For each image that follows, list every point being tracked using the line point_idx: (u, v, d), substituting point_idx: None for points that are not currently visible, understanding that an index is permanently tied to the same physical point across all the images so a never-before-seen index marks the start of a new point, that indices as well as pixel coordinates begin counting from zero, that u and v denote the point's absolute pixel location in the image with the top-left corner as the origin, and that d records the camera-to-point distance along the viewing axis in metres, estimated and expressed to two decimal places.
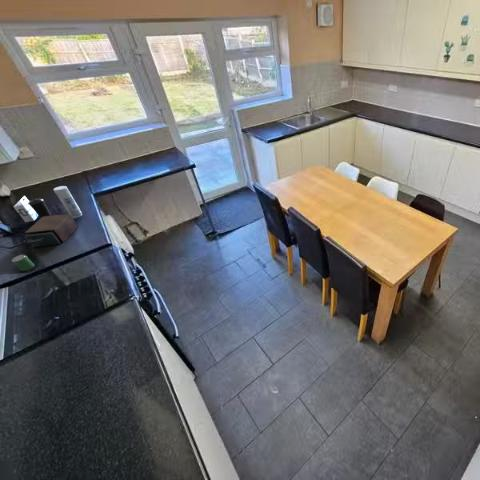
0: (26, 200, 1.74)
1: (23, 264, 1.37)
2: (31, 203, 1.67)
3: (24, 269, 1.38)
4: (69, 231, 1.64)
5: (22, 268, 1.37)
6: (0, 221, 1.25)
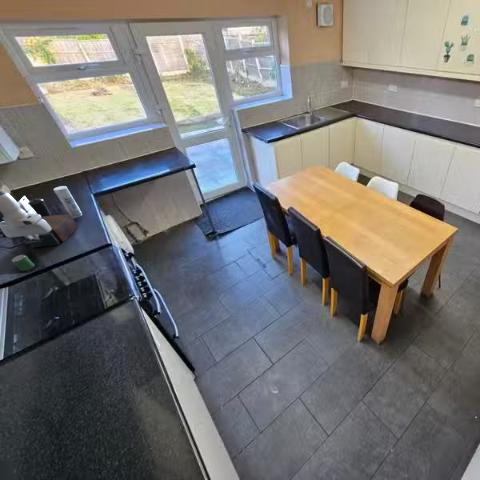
0: (26, 200, 1.74)
1: (23, 264, 1.37)
2: (31, 203, 1.67)
3: (24, 269, 1.38)
4: (69, 231, 1.64)
5: (22, 268, 1.37)
6: None
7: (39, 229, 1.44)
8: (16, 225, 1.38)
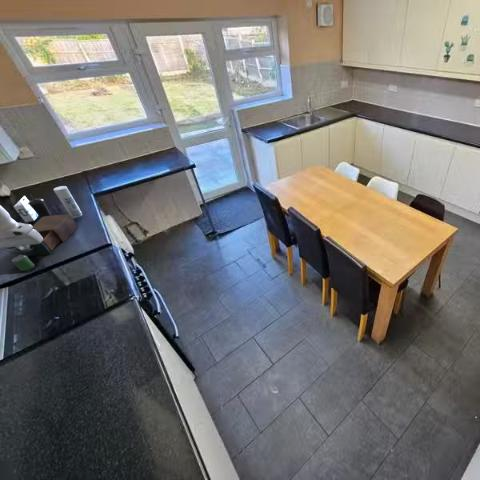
0: (26, 200, 1.74)
1: (23, 264, 1.37)
2: (31, 203, 1.67)
3: (24, 269, 1.38)
4: (69, 231, 1.64)
5: (22, 268, 1.37)
6: None
7: (30, 240, 1.38)
8: (6, 236, 1.32)
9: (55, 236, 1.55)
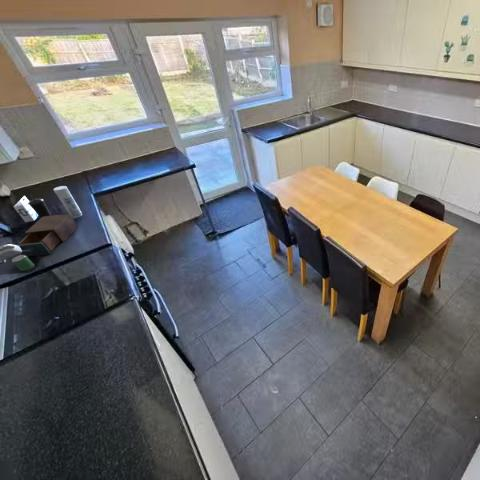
0: (26, 200, 1.74)
1: (23, 264, 1.37)
2: (31, 203, 1.67)
3: (24, 269, 1.38)
4: (69, 231, 1.64)
5: (22, 268, 1.37)
6: None
7: None
8: None
9: (55, 236, 1.55)
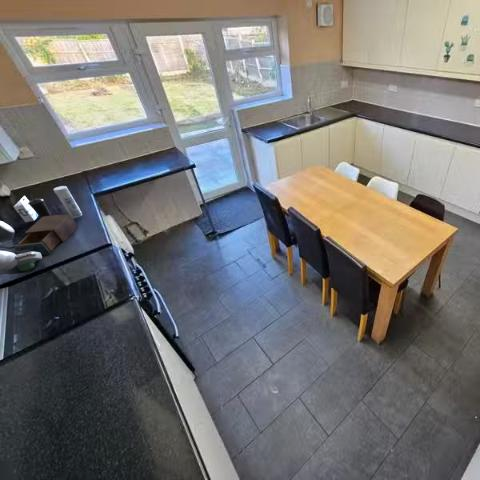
0: (26, 200, 1.74)
1: (23, 264, 1.37)
2: (31, 203, 1.67)
3: (24, 269, 1.38)
4: (69, 231, 1.64)
5: (22, 268, 1.37)
6: None
7: None
8: None
9: (55, 236, 1.55)
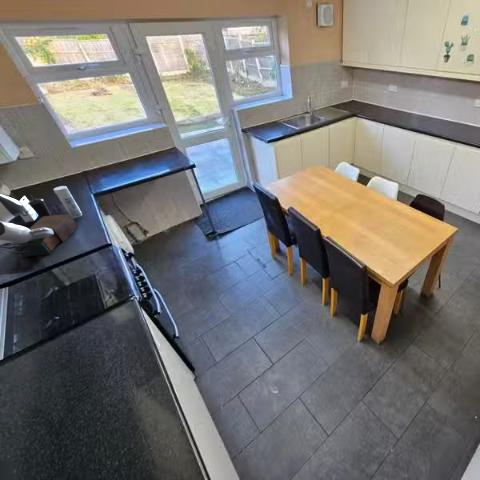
0: (26, 200, 1.74)
1: (36, 240, 1.48)
2: (31, 203, 1.67)
3: None
4: (69, 231, 1.64)
5: None
6: None
7: None
8: None
9: (55, 236, 1.55)
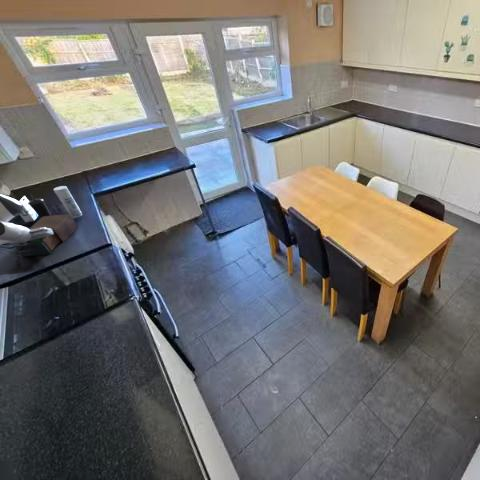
0: (26, 200, 1.74)
1: (38, 241, 1.48)
2: (31, 203, 1.67)
3: None
4: (69, 231, 1.64)
5: None
6: (24, 242, 1.47)
7: None
8: None
9: (55, 236, 1.55)
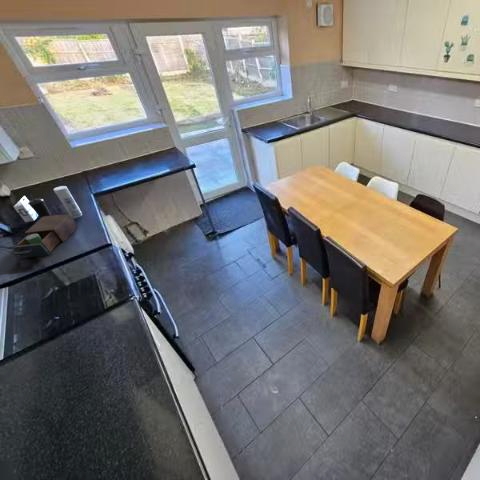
0: (26, 200, 1.74)
1: (36, 242, 1.47)
2: (31, 203, 1.67)
3: None
4: (69, 231, 1.64)
5: None
6: None
7: None
8: None
9: (54, 237, 1.54)
